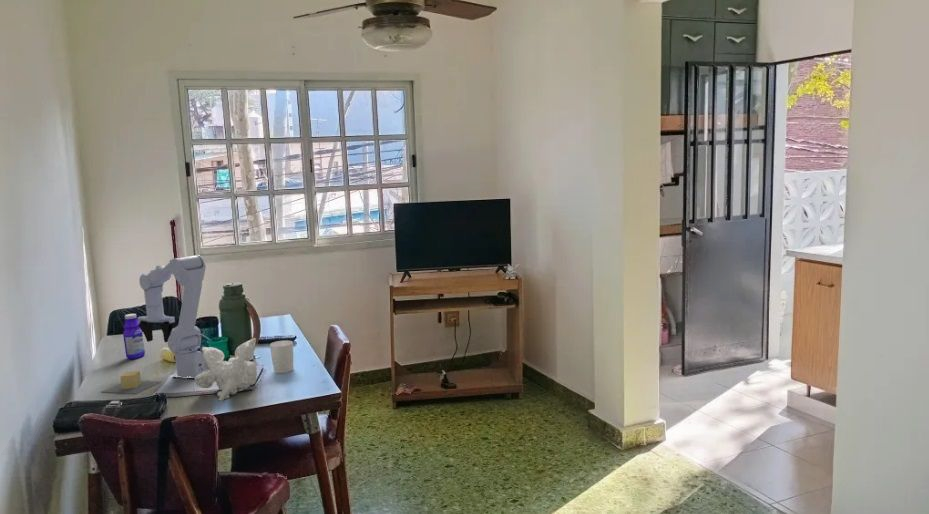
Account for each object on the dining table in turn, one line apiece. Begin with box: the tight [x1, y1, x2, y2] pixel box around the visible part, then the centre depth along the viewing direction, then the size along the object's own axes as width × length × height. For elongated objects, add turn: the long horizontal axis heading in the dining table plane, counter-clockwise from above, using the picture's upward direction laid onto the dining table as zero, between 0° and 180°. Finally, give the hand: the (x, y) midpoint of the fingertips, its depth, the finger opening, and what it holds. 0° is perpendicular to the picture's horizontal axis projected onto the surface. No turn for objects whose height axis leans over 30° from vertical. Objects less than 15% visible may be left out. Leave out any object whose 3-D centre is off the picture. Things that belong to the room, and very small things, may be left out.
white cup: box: [269, 339, 294, 374], centre depth 235 cm, size 8×8×10 cm
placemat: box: [100, 380, 162, 395], centre depth 225 cm, size 14×12×1 cm
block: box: [120, 370, 142, 389], centre depth 225 cm, size 4×4×4 cm
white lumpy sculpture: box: [194, 337, 258, 402], centre depth 216 cm, size 19×20×20 cm
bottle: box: [122, 313, 146, 360], centre depth 261 cm, size 7×6×17 cm
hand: (158, 341), depth 243 cm, fingers open, 7 cm apart
